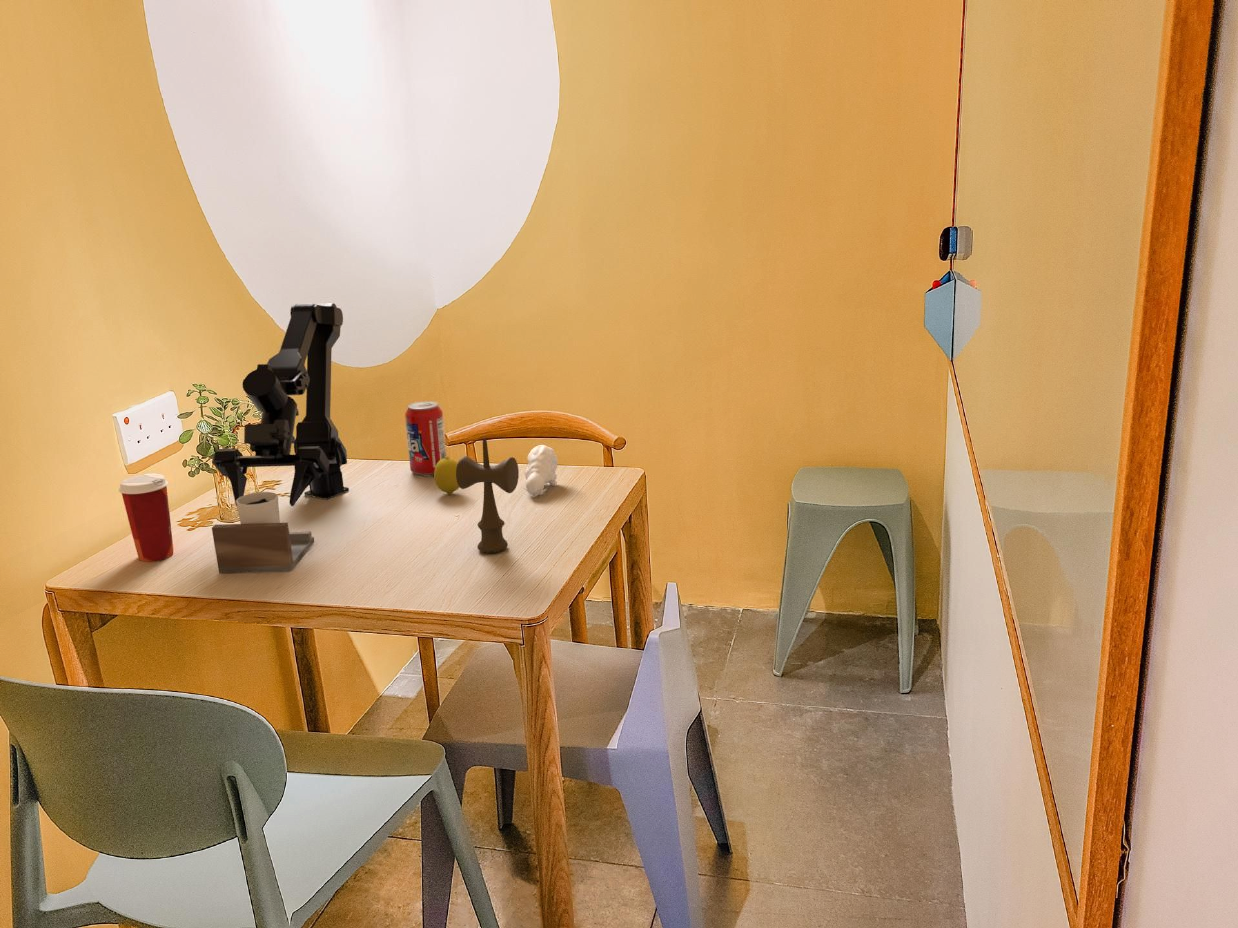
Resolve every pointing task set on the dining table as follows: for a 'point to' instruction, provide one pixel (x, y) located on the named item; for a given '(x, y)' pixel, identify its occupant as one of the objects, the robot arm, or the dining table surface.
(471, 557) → the dining table surface
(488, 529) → the kendama
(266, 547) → the holder
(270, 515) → the white cup
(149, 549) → the paper cup
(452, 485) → the lemon
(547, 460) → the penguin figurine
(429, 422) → the soda can
